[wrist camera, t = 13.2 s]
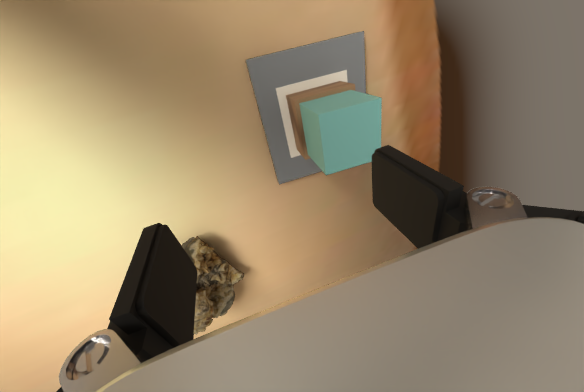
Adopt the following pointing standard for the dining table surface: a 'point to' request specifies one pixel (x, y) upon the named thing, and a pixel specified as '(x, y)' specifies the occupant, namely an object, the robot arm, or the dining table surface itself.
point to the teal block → (342, 129)
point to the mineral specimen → (211, 283)
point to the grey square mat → (298, 77)
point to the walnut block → (309, 95)
